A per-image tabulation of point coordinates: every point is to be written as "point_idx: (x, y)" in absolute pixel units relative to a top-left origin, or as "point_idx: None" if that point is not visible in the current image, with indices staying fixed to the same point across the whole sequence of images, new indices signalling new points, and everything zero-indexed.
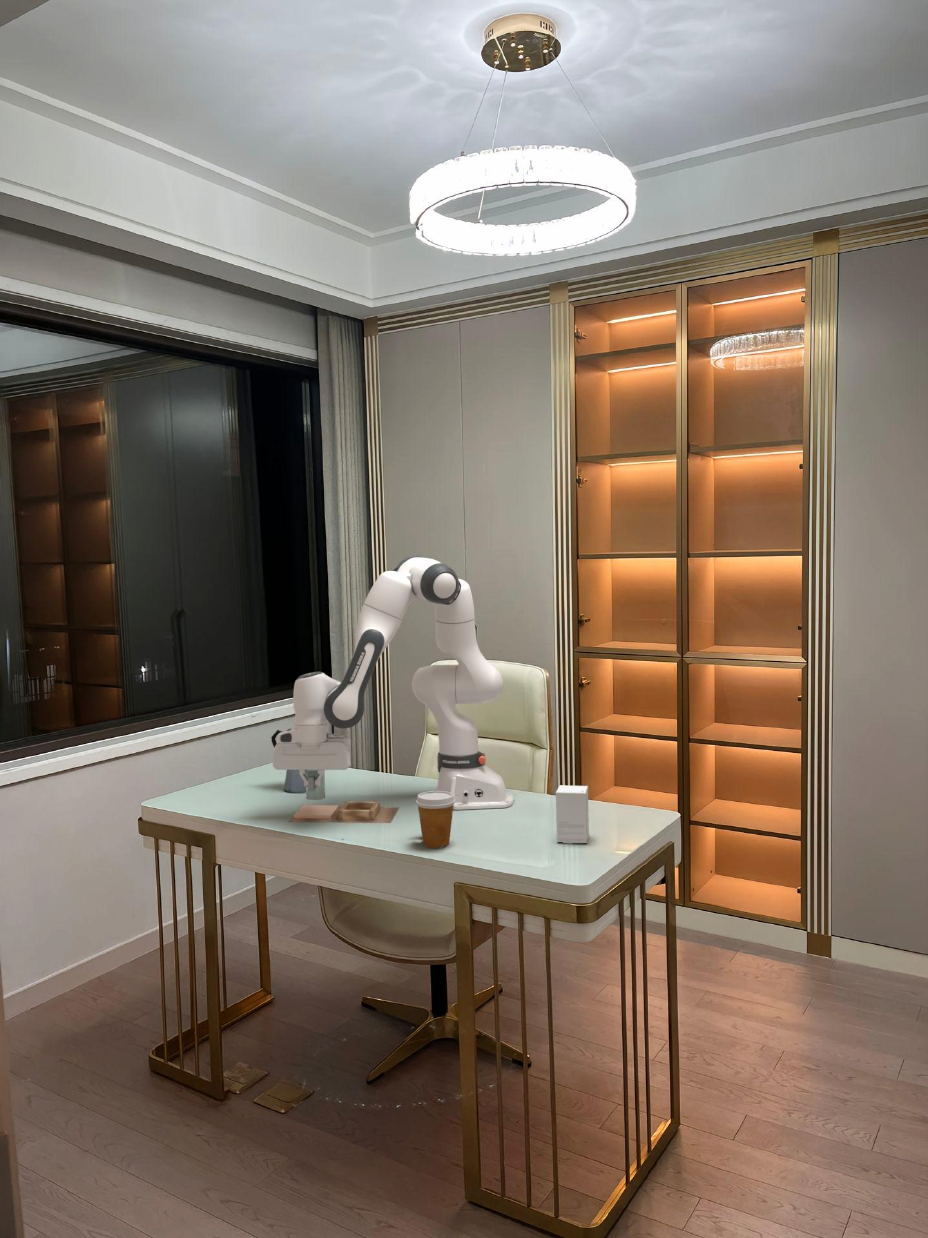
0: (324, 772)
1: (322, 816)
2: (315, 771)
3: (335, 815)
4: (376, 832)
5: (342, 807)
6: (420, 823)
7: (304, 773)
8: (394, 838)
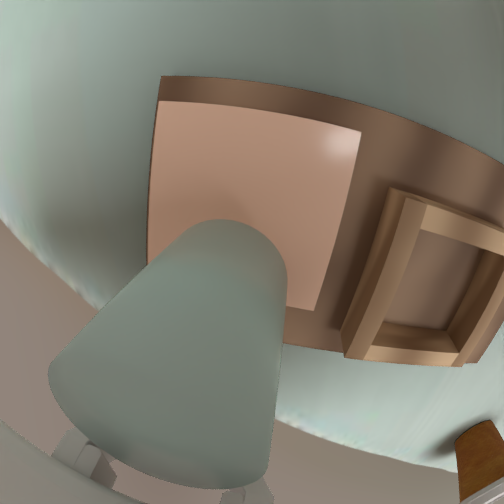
0: (272, 497)
1: None
2: (179, 482)
3: (336, 264)
4: (423, 393)
5: (374, 313)
6: (461, 471)
7: (116, 476)
8: (436, 421)
